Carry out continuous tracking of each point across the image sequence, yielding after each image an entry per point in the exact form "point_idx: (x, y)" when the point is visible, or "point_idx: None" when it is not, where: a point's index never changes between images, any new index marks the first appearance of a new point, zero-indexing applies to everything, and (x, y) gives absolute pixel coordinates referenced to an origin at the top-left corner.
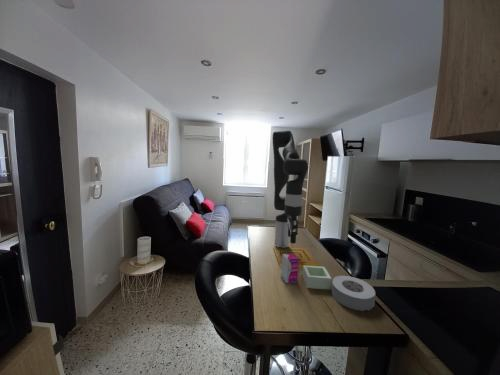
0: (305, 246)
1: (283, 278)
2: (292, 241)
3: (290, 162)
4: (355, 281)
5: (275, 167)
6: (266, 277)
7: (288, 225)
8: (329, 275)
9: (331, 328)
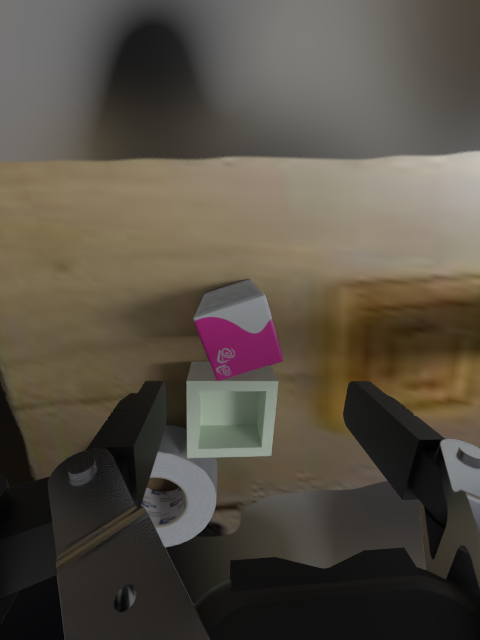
0: None
1: (226, 286)
2: (118, 409)
3: None
4: (183, 518)
5: None
6: (244, 216)
7: (455, 504)
8: (207, 456)
9: (16, 383)
